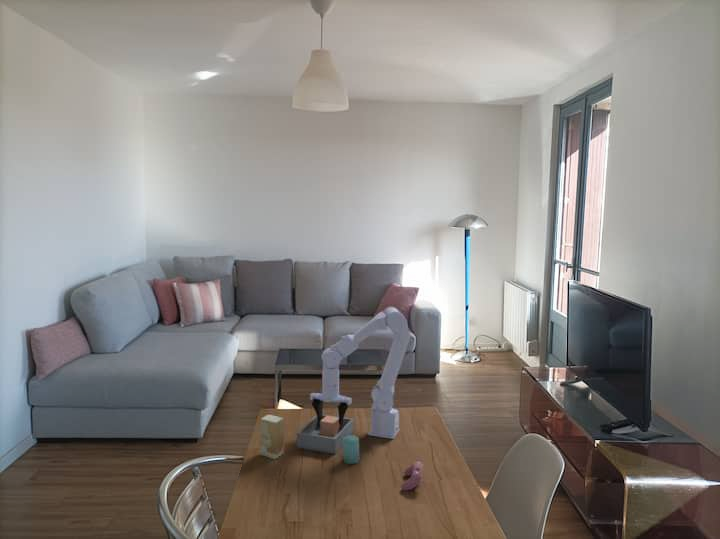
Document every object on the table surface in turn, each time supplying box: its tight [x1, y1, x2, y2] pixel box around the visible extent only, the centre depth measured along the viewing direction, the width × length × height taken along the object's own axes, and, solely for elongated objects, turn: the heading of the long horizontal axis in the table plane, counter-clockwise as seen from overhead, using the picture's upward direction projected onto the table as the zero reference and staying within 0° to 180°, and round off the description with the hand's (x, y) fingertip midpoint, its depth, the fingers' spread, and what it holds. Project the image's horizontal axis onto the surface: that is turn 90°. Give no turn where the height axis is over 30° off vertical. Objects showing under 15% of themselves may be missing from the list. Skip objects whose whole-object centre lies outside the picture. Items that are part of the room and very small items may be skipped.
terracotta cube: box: [320, 415, 340, 437], centre depth 190 cm, size 5×5×5 cm
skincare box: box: [260, 414, 285, 460], centre depth 175 cm, size 6×4×12 cm
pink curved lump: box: [401, 460, 425, 491], centre depth 159 cm, size 10×5×7 cm, turn 170°
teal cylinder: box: [342, 434, 361, 465], centre depth 172 cm, size 5×5×7 cm
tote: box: [296, 414, 355, 455], centre depth 187 cm, size 14×18×5 cm
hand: (330, 421), depth 190 cm, fingers open, 7 cm apart
